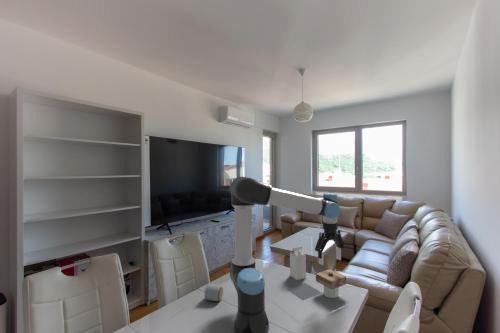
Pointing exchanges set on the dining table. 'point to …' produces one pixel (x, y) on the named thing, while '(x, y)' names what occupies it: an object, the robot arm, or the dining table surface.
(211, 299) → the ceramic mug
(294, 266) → the milk carton
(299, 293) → the mat
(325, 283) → the lid
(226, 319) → the dining table surface
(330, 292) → the octagonal pipe section
